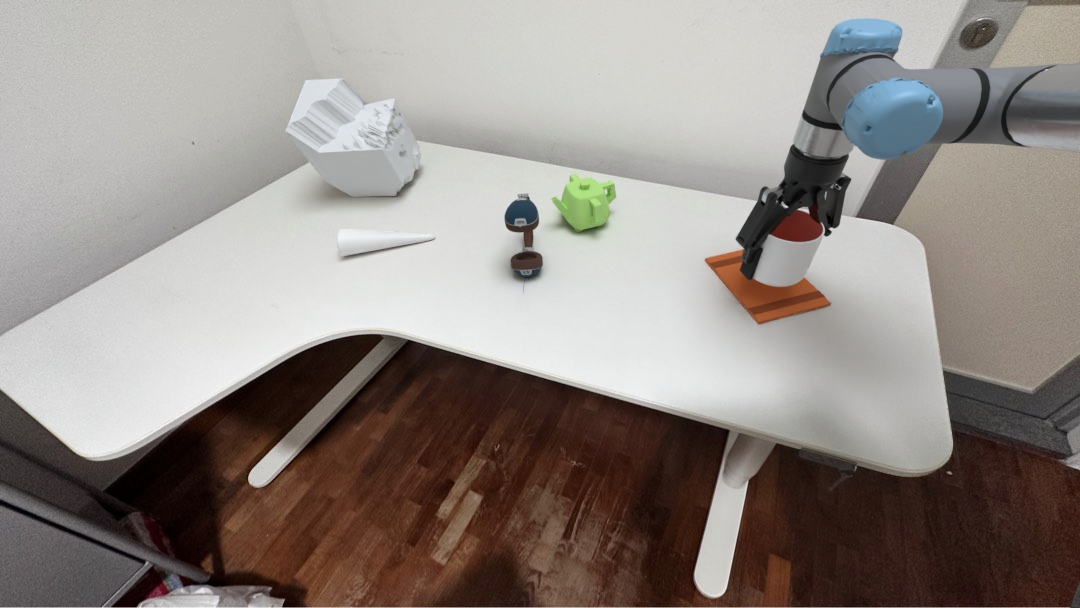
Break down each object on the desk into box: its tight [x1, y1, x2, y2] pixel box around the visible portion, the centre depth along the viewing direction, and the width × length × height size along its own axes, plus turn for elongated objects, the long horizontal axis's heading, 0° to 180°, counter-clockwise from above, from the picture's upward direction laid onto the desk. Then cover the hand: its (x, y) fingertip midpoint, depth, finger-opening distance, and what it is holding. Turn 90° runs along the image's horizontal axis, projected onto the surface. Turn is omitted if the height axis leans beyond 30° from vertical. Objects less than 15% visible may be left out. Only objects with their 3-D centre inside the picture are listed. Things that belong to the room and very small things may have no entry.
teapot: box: [550, 173, 617, 233], centre depth 99 cm, size 12×12×10 cm
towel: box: [704, 248, 832, 325], centre depth 85 cm, size 18×14×1 cm
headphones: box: [503, 192, 544, 294], centre depth 87 cm, size 6×15×22 cm
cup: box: [753, 206, 825, 287], centre depth 77 cm, size 10×10×10 cm
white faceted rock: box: [285, 77, 422, 198], centre depth 110 cm, size 20×16×25 cm
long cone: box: [336, 227, 436, 257], centre depth 98 cm, size 6×6×19 cm
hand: (773, 268), depth 80 cm, fingers closed on cup, 10 cm apart
